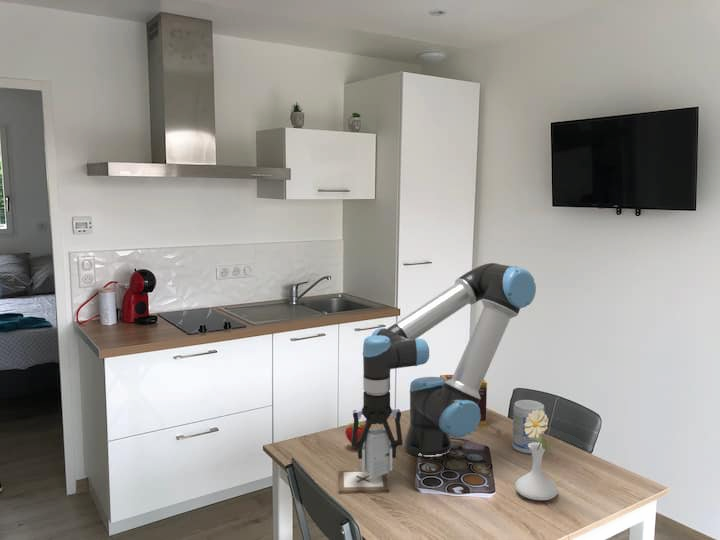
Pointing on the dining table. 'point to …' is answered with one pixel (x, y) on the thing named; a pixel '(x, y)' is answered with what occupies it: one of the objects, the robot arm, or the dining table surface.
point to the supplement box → (482, 401)
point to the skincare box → (377, 452)
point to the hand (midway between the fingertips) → (376, 468)
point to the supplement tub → (519, 419)
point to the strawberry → (350, 430)
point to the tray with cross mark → (361, 482)
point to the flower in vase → (536, 461)
